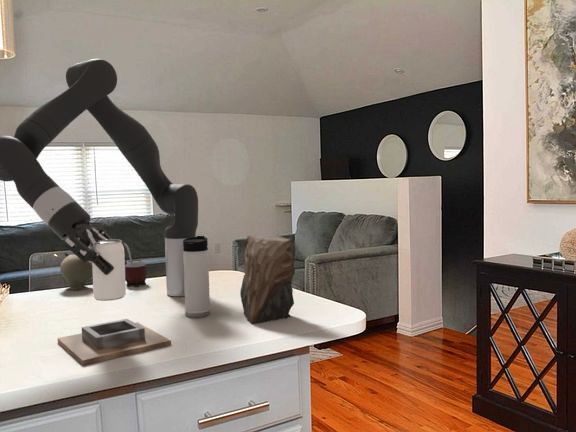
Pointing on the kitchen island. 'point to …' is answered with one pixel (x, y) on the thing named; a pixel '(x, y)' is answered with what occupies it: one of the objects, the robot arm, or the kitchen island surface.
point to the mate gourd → (135, 271)
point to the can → (115, 280)
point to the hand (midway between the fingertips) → (117, 268)
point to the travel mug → (196, 277)
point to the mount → (111, 341)
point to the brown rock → (267, 279)
